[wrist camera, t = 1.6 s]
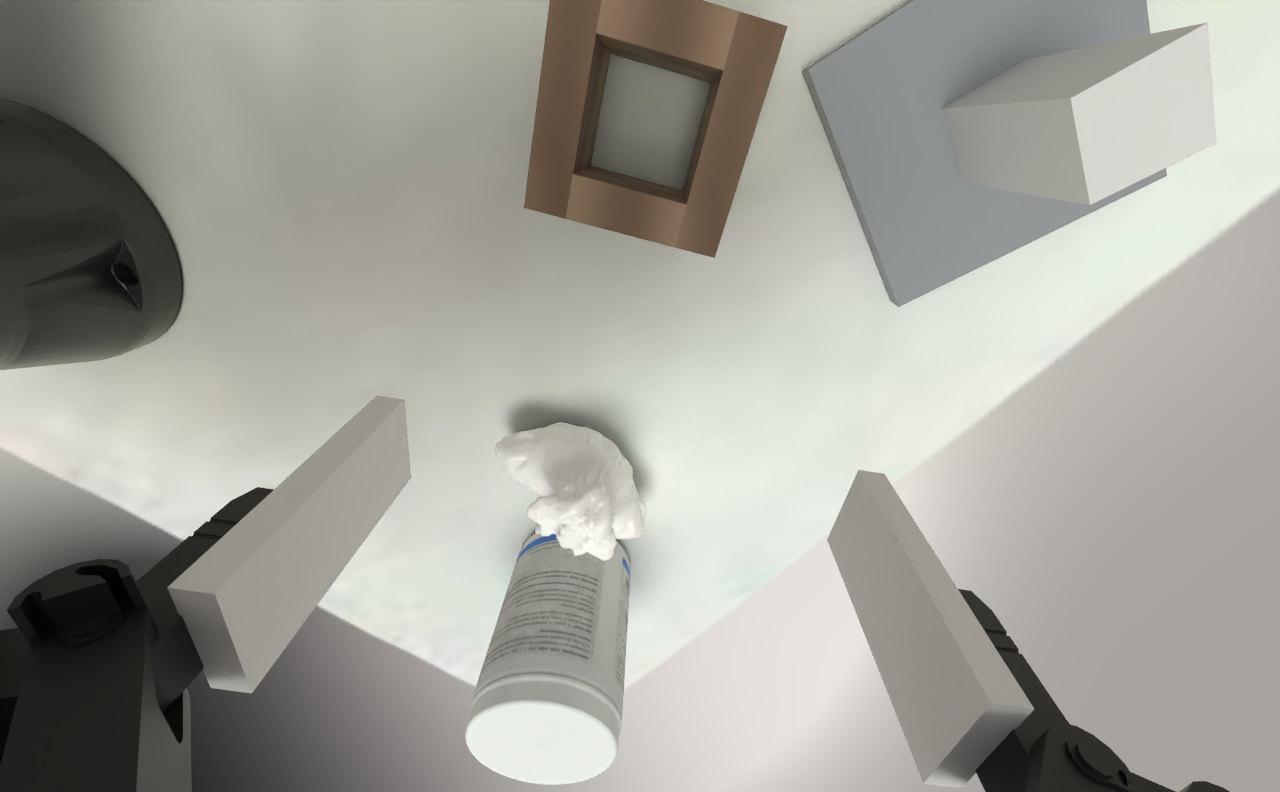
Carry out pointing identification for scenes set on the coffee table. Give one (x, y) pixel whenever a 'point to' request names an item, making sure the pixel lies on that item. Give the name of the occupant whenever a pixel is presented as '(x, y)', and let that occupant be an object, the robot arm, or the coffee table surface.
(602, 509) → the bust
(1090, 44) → the post block
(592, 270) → the coffee table surface
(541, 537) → the supplement tub
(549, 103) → the collar
